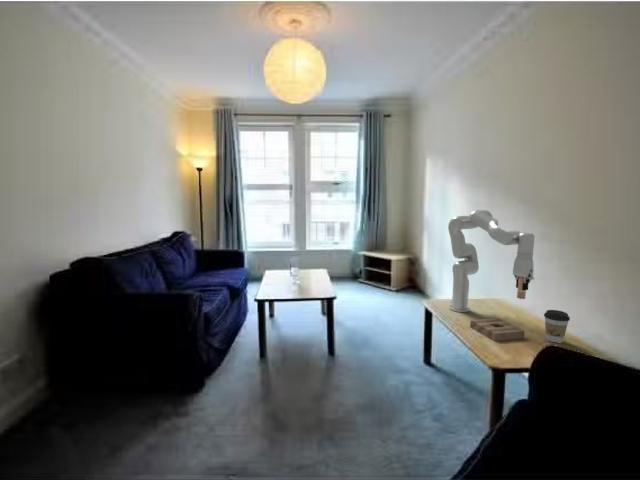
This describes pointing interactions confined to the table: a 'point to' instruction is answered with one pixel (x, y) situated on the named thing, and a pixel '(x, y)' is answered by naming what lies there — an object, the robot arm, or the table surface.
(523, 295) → the peg
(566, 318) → the coffee cup
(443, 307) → the table surface
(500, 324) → the board
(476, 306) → the table surface
